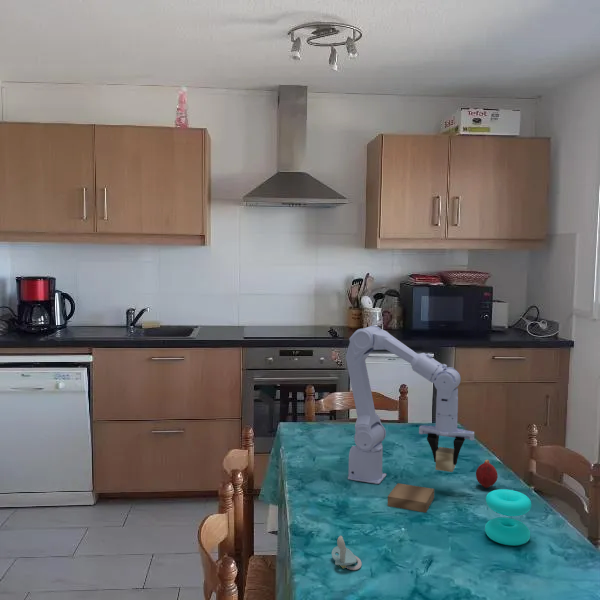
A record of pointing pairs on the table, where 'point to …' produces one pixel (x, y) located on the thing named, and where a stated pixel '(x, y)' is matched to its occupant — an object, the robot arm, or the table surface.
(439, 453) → the maple block
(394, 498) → the walnut block
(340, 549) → the pacifier
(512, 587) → the table surface
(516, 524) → the donuts
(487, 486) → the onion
